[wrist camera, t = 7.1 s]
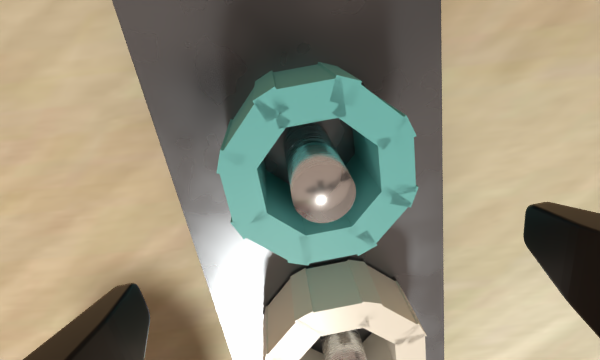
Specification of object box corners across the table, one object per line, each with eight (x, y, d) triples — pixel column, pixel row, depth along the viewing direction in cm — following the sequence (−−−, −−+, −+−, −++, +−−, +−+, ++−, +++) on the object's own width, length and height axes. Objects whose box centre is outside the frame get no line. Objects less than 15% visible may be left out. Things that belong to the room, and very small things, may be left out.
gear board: (426, -62, 14) (533, -116, 9) (435, 345, 23) (491, 450, 18) (120, -7, 14) (25, -27, 8) (247, 383, 23) (242, 501, 17)
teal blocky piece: (376, 51, 15) (413, 60, 11) (387, 197, 17) (420, 243, 14) (213, 80, 15) (196, 100, 11) (249, 223, 17) (245, 278, 14)
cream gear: (400, 249, 18) (424, 288, 16) (407, 356, 21) (429, 405, 19) (251, 278, 18) (249, 323, 16) (280, 382, 21) (282, 435, 19)
